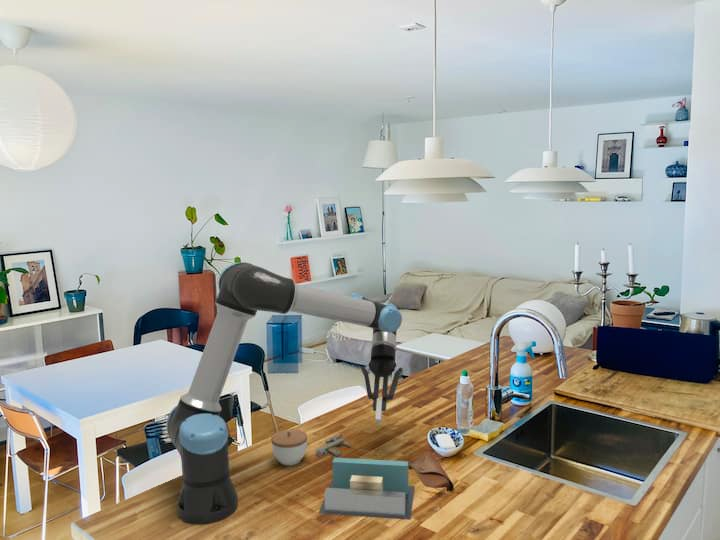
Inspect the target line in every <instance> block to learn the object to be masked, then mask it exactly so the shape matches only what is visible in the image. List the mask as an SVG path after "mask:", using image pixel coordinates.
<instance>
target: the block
mask: <svg viewBox="0 0 720 540" xmlns="http://www.w3.org/2000/svg"><path fill="white" fill-rule="evenodd" d="M350 489H357V490H373V491H383V477H375V476H357V475H352V476H351V479H350Z"/></svg>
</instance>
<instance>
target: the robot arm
mask: <svg viewBox="0 0 720 540" xmlns="http://www.w3.org/2000/svg"><path fill="white" fill-rule="evenodd" d="M218 290H219V291H218V294H217V297H216V300H215V303H214V304H215V306H216V308H217V313H216V316H215V318H214V321H213V323H212V327H211V330H210V332H209V335H208V338H207V341H206V343H205V346H204V349H203V351H202V355H201V356H200V360H199V362H198V366H197V368H196V371H195V373H194V376H193V379H192V382H191V384H190V387H189V390H188V392H187V393H184V394H182V395H181V396H180V398H179V400H178V403H177V405H176V406H174V407H173V408H172V409H171V411H170V413H169V415H168V417H167V418H166V419H167V420H166V429H167V435H168V438H169V439H170V441H171V443H172V444H173V445H174V447H175V449H176V450H177V452H178V454H179V456H180V459H181V473H182V485H181V489H180V494H179V497H178V501H177V515H178V517H179V519H180V520H181V521H183V522H185V523H189V524H194V525H203V524H205V525H206V524H212V523H215V522H219V521H221V520H224V519H226V518H227V517H230V516H231V515H232V514H233V513H234V512H235V511H236V510H237V508H238V505H239V498H238V497H239V496H238V492H237V490H236V488H235V485H234V483H233V480H232V479H231V475H230V461H229V459H230V458H229V446H228V445H229V442H228V440H229V439H228V437H229V433H228V429H227V424H226V421H225V420H224V419H223V417H221V416H220V415H221V412H222V406H221V404H220V401H219V400H220V398H221V395H222V392H223V390H224V387H225V385H226V382H227V378H228V377H229V376H228V375H229V373H230V371H231V368H232V364H233V362H234V359H235V357H236V354H237V351H238V348H239V345H240V344H241V343H240V342H241V339H242V338H243V335H244V332H245V329H246V327H247V324H248V321H249V320H251V319H253V318H255V317H256V315H257V312H258V311H259V312H261V311H262V312H270V313H277V314H281V315H282V314H283V315H286V314H288V313H289V312H292V313H297V314H302V315H306V316H313V317H316V318H317V317H318V318H323V319H326V320H331V321H335V322H341V323H347V324H352V325H356V326H362V327H366V328H371V329H372V339H371V350H370V351H371V352H370V361H369V362H368V365H367V366H362V367H360V369H361V373H362V375H363V376H364V381H365V387H366V388H365V389H366V393H367V397H368V399H369V400H372V410H373V412H375V418H374V419H375V423H377V424H382V420H383V412H386V411H387V402H388V401H389V400H392V401H393V399H394V397H395V392H396V391H397V388H398V387H397V386H398V384H399V380H400V378H401V377H402V376H403V374H404V370H403V368H402V367H398V366H397V363H396V349H397V331H398V329H400V327H401V325H402V321H403V316H402V312H401V311H400V310H399V309H398V308H397V306H396V305H394V304H393V303H391V302H390V303H388V302H385V301H384V302H379V301H375V300H372V299H369V298H366V297H365V296H363V295H362V294H358V293H356V292H352V293H350V294H349V295H345V294H341V293H336V292H333V291H327V290H323V289H319V288H315V287H311V286H307V285H302V284H297V283H296V282H295V280H294V279H293V278H288V277H285V276H282V275H279V274H276V273H274V272H272V271H270V270H268V269H265V268H264V267H260V266H257V265H254V264H252V263H249V262H242V261H240V262H234V263H232V264H231V263H230V264H229V265H227V266H226V267H225V268H224V269H223V270H222V271H221V274H220V275H219V278H218ZM370 371H371V373H372V374H373V375H374V385H373V393H372V387H371V382H370V377H369V376H370V375H369V374H370ZM393 372H394V376H393V378H392V381H391V384H390V389H389V390H388V387H389V386H388V385H389V376H391V375H392V373H393ZM381 378H382V391H381V392H382V394H381V397H382V398H381V397H379V394H380V393H379V391H380V381H381Z"/></svg>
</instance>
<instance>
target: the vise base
mask: <svg viewBox="0 0 720 540" xmlns="http://www.w3.org/2000/svg"><path fill="white" fill-rule="evenodd" d="M415 487H416V486H415V485H409V491H408V495H405V492H390V491H373V490H357V489H340V488H333V480H332V481H331V482H330V483H329V487H326V488H325V491H324V493H323V495H324V498H323V501H322V504H321V506H320V508H319V510H318V514H323V515H337V516H349V517H351V516H352V517H367V518H379V519H393V520H411V519H412V513H413V511H412V510H413V504H414V496H415V489H416V488H415Z"/></svg>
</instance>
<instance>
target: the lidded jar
mask: <svg viewBox="0 0 720 540" xmlns="http://www.w3.org/2000/svg"><path fill="white" fill-rule="evenodd" d="M270 438H271V439H270V440H271V441H270V442H271V449H272V454H273V456H274V457H275V458H276V460H277V461H278V462H280V464H281V465H283V466H294V465H298V463H300V462H301V460H302V459H303V458H304V456H305V454H306V452H307V448H308V435H307V433H306V432H305V431H303V430H300V429H293V428H292V429H284V430H280V431H277V432H274V434H273V435H272V436H271V437H270Z"/></svg>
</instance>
